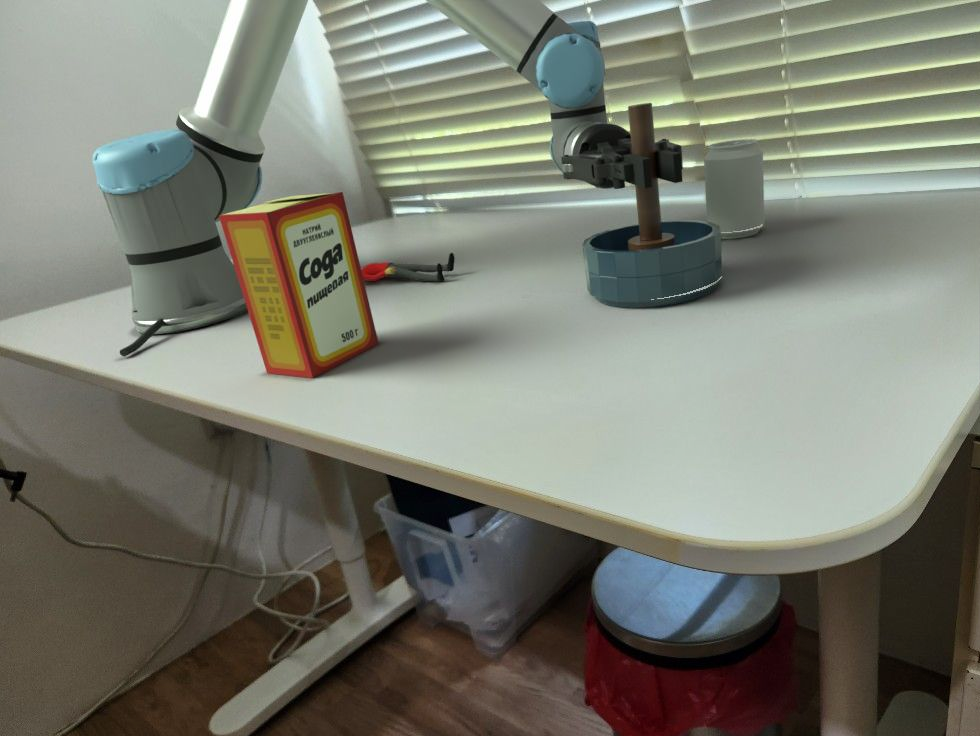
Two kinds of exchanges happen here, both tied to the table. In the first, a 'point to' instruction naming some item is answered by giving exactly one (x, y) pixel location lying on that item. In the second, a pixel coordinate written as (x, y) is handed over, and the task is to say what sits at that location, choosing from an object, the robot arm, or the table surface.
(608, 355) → the table surface
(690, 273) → the bowl
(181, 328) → the robot arm
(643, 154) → the muddler
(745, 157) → the can
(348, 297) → the baking soda box
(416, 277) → the person figure
